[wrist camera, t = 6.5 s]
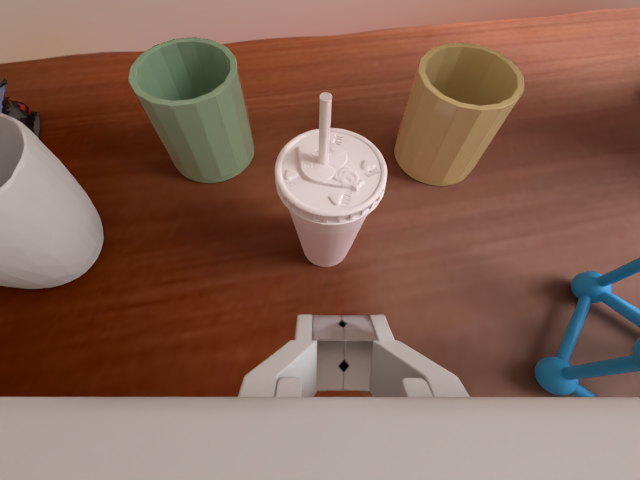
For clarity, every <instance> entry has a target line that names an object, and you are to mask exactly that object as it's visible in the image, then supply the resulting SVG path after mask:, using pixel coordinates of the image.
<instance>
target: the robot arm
mask: <svg viewBox="0 0 640 480" xmlns="http://www.w3.org/2000/svg"><path fill="white" fill-rule="evenodd" d="M342 390H343V391H370V393H371V395H372V396H373V397H314V395H315V394H316V391H342ZM0 480H640V397H470V396H469V395H468V393H467V391H466V390H465V388H464V386H463V385H462V383H461V381H460V380H459V378H458V377H457V376H456V375H454V374H452V373H451V372H449V371H447V370H446V369H444V368H443V367H441V366H439V365H438V364H436V363H435V362H433V361H431V360H430V359H428V358H426V357H425V356H423V355H422V354H420V353H418V352H417V351H415V350H413V349H412V348H410V347H409V346H407V345H405V344H404V343H402V342H401V341H395V339H394V337H393V335H392V332H391V330H390V327H389V325H388V322H387V320H386V317H385V316H384V315H313V322H312V314H304V315H298V316H297V323H296V332H295V340H290V341H289V342H288V343H287V344H285V345H284V346H283V347H281V348H280V349H279V350H277V351H276V352H275V353H274V354H272V355H271V356H270V357H268V358H267V359H266V360H265V361H263V362H262V363H261V364H259V365H258V366H257V367H255V368H254V369H253V370H252V371H250V372H249V373H248V374H246V375H245V376H244V379H243V382H242V385H241V388H240V392H239V395H238V397H0Z"/></svg>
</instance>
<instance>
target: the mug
mask: <svg viewBox="0 0 640 480" xmlns="http://www.w3.org/2000/svg"><path fill="white" fill-rule="evenodd" d="M103 241H104V236H103V227H102V223H101V220H100V217H99V214H98V212H97V210H96V208H95V207H94V205H93V203H92V202H91V200H90V198H89V197H88V195H87V193H86V192H85V191H84V189H83V188H82V187H81V186H80V185H79V183H78V182H77V181H76V179H75V178H74V177H73V176H72V175H71V173H70V172H69V171H68V170H67V169H66V167H65V166H64V165H63V164H62V162H61V161H60V160H59V159H58V158H57V157H56V156H55V155H54V154H53V153H52V152H51V151H50V150H49V149H48V148H47V147H46V146H45V145H44V144H43V143H42V142H41V141H40V140H39V139H38V137H37V136H36V135H35V134H34V133H33V132H32V131H31V130H30V129H29V128H27V127H26V126H25V125H24V124H23V123H22V122H20V121H18V120H16V119H15V118H13V117H10V116H7V115H5V114H3V113H0V286H5V287H14V288H24V289H41V288H50V287H55V286H60V285H62V284H65V283H68V282H70V281H72V280H74V279H77V278H79V277H80V276H81V275H83V274H84V273H86V272H87V271H88V269H89V268H90V267H91V266H92V265H93V263H94V262H95V261H96V260H97V258H98V256H99V254H100V251H101V248H102V245H103Z"/></svg>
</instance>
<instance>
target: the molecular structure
mask: <svg viewBox="0 0 640 480" xmlns="http://www.w3.org/2000/svg"><path fill="white" fill-rule="evenodd" d="M638 272H640V258H638V259H636V260H634V261H632V262H629V263H627V264H625V265H623V266H621V267H619V268H617V269H615V270H613V271H611V272H609V273H607V274H604V275H602V274H599V273H596V272H582V273H580V274H578V275H576V276H575V277H574V278H573V280H572V282H571V290H572V292H573V294H574V295H575V296H576V297H577V298H578V299H579V300H578V303H577V305H576V308H575V310H574V313H573V315H572V318H571V320H570V323H569V325H568V328H567V330H566V333H565V335H564V338H563V340H562V343H561V345H560V348H559V350H558V353H557V355H556V357H547V358H544V359H542V360H540V361H539V362H538V363H537V365H536V367H535V377H536V380H537V382H538V383H539V384H540V386H541V387H542V388H544V389H545V390H546V391H548V392H550V393H552V394H555V395H568V394H570V393H572V394H574V395H575V396H577V397H598V396H596V395H595V394H593V393H592V392H590V391H589V390H587V389H586V388H584V387H583V386H581V385H579V384H578V383H579V380H578V379H583V378H590V377H598V376H605V375H612V374H620V373H627V372H635V371H640V337H639V338H638V340H637V341H636V342H635V344H634V347H633V355H630V356H625V357H619V358H614V359H609V360H603V361H598V362H593V363H587V364H582V365H576V366H572V365H571V364H570V363H569V361H570V358H571V355H572V353H573V350H574V347H575V345H576V342H577V340H578V337H579V334H580V332H581V329H582V326H583V324H584V321H585V319H586V316H587V313H588V311H589V308H590V305H591V303H599V302H603V303H605V304H606V305H608V306H609V307H611V308H612V309H614V310H615V311H616V312H618V313H619V314H621V315H622V316H624V317H625V318H627V319H628V320H629V321H631V322H632V323H634V324H635V325H637V326H638V327H639V328H640V309H638V308H637V307H635V306H633V305H631V304H630V303H628V302H626V301H624V300H623V299H621V298H619V297H617V296H615V295H614V294H612V293H611V284H613V283H615V282H617V281H619V280H622V279H624V278H626V277H629V276H631V275H633V274H635V273H638Z"/></svg>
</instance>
